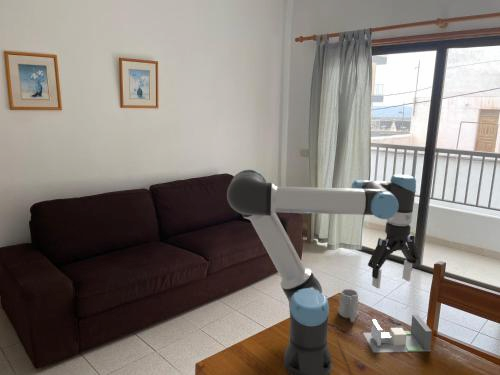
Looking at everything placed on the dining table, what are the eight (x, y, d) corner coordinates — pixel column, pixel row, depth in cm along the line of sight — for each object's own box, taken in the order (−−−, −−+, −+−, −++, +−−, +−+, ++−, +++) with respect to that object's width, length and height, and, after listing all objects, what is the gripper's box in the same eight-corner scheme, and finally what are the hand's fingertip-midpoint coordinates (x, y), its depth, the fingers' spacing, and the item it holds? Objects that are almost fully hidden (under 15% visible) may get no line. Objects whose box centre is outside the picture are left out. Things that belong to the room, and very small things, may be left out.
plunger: (377, 345, 128) (378, 329, 127) (371, 335, 134) (372, 319, 133) (392, 345, 129) (393, 329, 127) (385, 335, 134) (387, 319, 133)
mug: (355, 310, 154) (357, 283, 151) (363, 327, 142) (365, 298, 140) (336, 310, 154) (337, 282, 151) (342, 327, 142) (344, 297, 140)
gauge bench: (373, 355, 126) (375, 333, 125) (362, 335, 137) (364, 315, 135) (430, 354, 127) (432, 332, 125) (415, 334, 138) (417, 313, 136)
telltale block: (394, 345, 130) (395, 334, 129) (389, 338, 134) (390, 327, 133) (405, 344, 130) (406, 334, 129) (400, 337, 134) (401, 327, 133)
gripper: (377, 230, 116) (370, 295, 120) (435, 222, 126) (426, 281, 131) (360, 223, 122) (354, 284, 127) (416, 215, 133) (409, 272, 137)
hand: (391, 283), depth 129 cm, fingers open, 13 cm apart
